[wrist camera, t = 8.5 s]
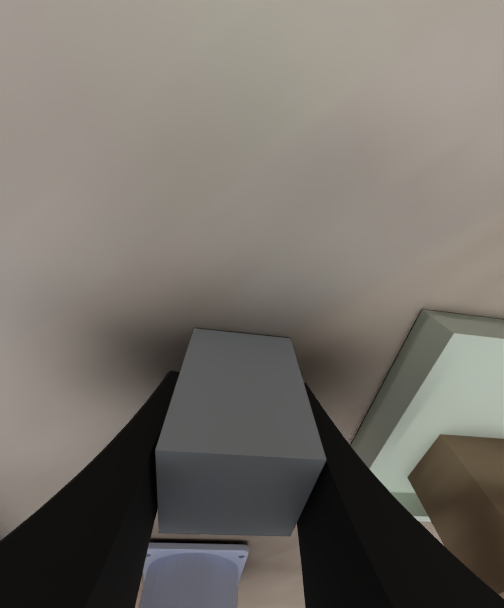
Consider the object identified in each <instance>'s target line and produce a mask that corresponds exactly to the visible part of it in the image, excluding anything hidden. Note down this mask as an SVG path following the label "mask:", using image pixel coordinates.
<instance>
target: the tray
mask: <svg viewBox="0 0 504 608" xmlns="http://www.w3.org/2000/svg"><path fill="white" fill-rule="evenodd" d="M440 434H444V435H458V436H472V437H487V438H501V439H504V319H496V318H488V317H480V316H472V315H464V314H455V313H447V312H439V311H431V310H423V309H422V311H421V313H420V314H419V316H418V318H417V320H416V322H415V324H414V326H413V328H412V330H411V332H410V333H409V335H408V337H407V339H406V341H405V343H404V345H403V347H402V349H401V351H400V352H399V354H398V356H397V358H396V360H395V362H394V364H393V366H392V368H391V370H390V371H389V373H388V375H387V377H386V379H385V381H384V383H383V385H382V387H381V389H380V390H379V392H378V394H377V396H376V398H375V400H374V402H373V404H372V406H371V408H370V410H369V411H368V413H367V415H366V417H365V419H364V421H363V423H362V425H361V427H360V429H359V430H358V432H357V434H356V436H355V438H354V440H353V442H352V444H351V447H352V448H353V450H354V451H355V452H356V453H357V455H358V456H359V457H360V458H361V460H362V461H363V462H364V463H365V464H366V466H367V467H368V468H369V469H370V470H371V471H372V473H373V474H374V475H375V476H376V477H377V478H378V479H379V480H380V482H381V483H382V484H383V485H384V486H385V487H386V488H387V489H388V490H389V492H390V493H391V494H392V495H393V496H394V497H395V498H396V499H397V500H398V501H399V502H400V503H401V504H402V505H403V506H404V507H405V508H406V509H407V510H408V511H409V512H410V513H411V514H412V515H413V516H414V517H415V518H416V519H417V520H418V521H422V522H431V520H430V518H429V516H428V515H427V513H426V511H425V509H424V507H423V505H422V504H421V502H420V500H419V498H418V496H417V494H416V493H415V491H414V489H413V487H412V485H411V483H410V482H409V480H408V478H407V477H408V476H409V474H410V473H411V472H412V470H413V469H414V468H415V466H416V465H417V464H418V463H419V461H420V460H421V459H422V457H423V456H424V455H425V453H426V452H427V451H428V449H429V448H430V447H431V445H432V444H433V443H434V441H435V440H436V439H437V438H438V436H439V435H440Z"/></svg>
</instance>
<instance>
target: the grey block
mask: <svg viewBox="0 0 504 608" xmlns="http://www.w3.org/2000/svg"><path fill="white" fill-rule="evenodd" d="M155 455H156V477H157V500H158V522H159V533H172V534H213V535H253V536H291V534H292V532H293V530H294V527H295V525H296V523H297V521H298V519H299V517H300V515H301V513H302V511H303V508H304V506H305V504H306V502H307V500H308V498H309V496H310V494H311V492H312V489H313V487H314V485H315V483H316V481H317V479H318V477H319V475H320V473H321V470H322V468H323V466H324V464H325V462H326V457H325V453H324V450H323V446H322V443H321V440H320V436H319V433H318V430H317V426H316V423H315V419H314V416H313V413H312V409H311V406H310V402H309V399H308V396H307V392H306V389H305V386H304V382H303V379H302V375H301V372H300V369H299V365H298V362H297V358H296V355H295V352H294V348H293V345H292V342H291V338H282V337H272V336H263V335H253V334H244V333H234V332H225V331H215V330H206V329H196V328H194V330H193V333H192V336H191V339H190V342H189V345H188V349H187V352H186V355H185V358H184V361H183V364H182V368H181V371H180V374H179V377H178V380H177V383H176V386H175V390H174V393H173V396H172V399H171V402H170V405H169V409H168V412H167V415H166V418H165V421H164V424H163V428H162V431H161V434H160V437H159V440H158V443H157V446H156V450H155Z"/></svg>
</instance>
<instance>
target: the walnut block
mask: <svg viewBox="0 0 504 608" xmlns="http://www.w3.org/2000/svg"><path fill="white" fill-rule="evenodd" d="M407 478H408V480H409V482H410V483H411V485H412V487H413V489H414V491H415V493H416V494H417V496H418V498H419V500H420V502H421V504H422V505H423V507H424V509H425V511H426V513H427V515H428V516H429V518H430V520H431V522H432V524H433V526H434V527H435V529H436V531H437V533H438V535H439V537H440V538H441V540H442V542H443V544H444V546H445V547H446V548H447V549H448V550H449V551H450V552H451V553H452V554H453V555H454V556H455V557H457V558H458V559H459V560H460V561H461V562H462V563H463V564H464V565H465V566H466V567H468V568H469V569H470V570H471V571H472V572H473V573H474V574H475V575H476V576H477V577H479V578H480V579H481V580H482V581H483V582H484V583H485V584H487V585H488V586H489V587H490V588H491V589H493V590H494V591H495V592H496V593H497V594H498V595H500V596H501V597H502V598H503V599H504V439H501V438H487V437H472V436H458V435H444V434H440V435H439V436H438V438H437V439H436V440H435V441H434V443H433V444H432V445H431V447H430V448H429V449H428V451H427V452H426V453H425V455H424V456H423V457H422V459H421V460H420V461H419V463H418V464H417V465H416V466H415V468H414V469H413V470H412V472H411V473H410V474H409V476H408V477H407Z"/></svg>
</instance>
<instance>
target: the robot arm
mask: <svg viewBox="0 0 504 608" xmlns="http://www.w3.org/2000/svg"><path fill="white" fill-rule="evenodd" d="M179 374H180V372H176V371H170V372H168V373H167V374H166V376H165V377H164V379H163V380H162V382H161V383H160V385H159V386H158V387H157V389H156V390H155V391H154V392H153V394H152V395H151V396H150V398H149V399H148V400H147V401H146V403H145V404H144V405H143V406H142V407H141V409H140V410H139V411H138V412H137V413H136V414H135V416H134V417H133V418H132V419H131V420H130V421H129V423H128V424H127V425H126V426H125V427H124V428H123V429H122V430H121V431H120V432H119V433H118V435H117V436H116V437H115V438H114V439H113V440H112V441H111V442H110V443H109V444H108V445H107V446H106V447H105V448H104V449H103V450H102V451H101V452H100V453H99V454H98V455H97V456H96V457H95V458H94V459H93V460H92V461H91V462H90V463H89V464H88V465H87V466H86V467H85V468H84V469H83V470H82V471H81V472H80V473H79V474H78V475H77V476H76V477H74V478H73V479H72V480H71V481H70V482H69V483H68V484H67V485H66V486H64V487H63V488H62V489H61V490H60V491H59V492H58V493H57V494H56V495H54V496H53V497H52V498H51V499H50V500H49V501H48V502H47V503H45V504H44V505H43V506H42V507H41V508H40V509H39V510H37V511H36V512H35V513H34V514H33V515H31V516H30V517H29V518H28V519H27V520H25V521H24V522H23V523H22V524H21V525H19V526H18V527H17V528H16V529H14V530H13V531H12V532H11V533H9V534H8V535H7V536H6V537H5V538H3V539H2V540H1V541H0V608H135V604H136V599H137V595H138V590H139V586H140V581H141V577H142V572H143V580H144V586H143V590H142V594H141V598H140V603H139V607H138V608H237V605H238V584H239V581H240V578H241V575H242V572H243V569H244V566H245V563H246V560H247V557H248V554H249V547H248V546H247V545H243V544H198V543H150V537H151V533H152V529H153V524H154V520H155V517H156V513H157V509H158V500H157V477H156V455H155V450H156V446H157V443H158V440H159V437H160V434H161V431H162V428H163V424H164V421H165V418H166V415H167V412H168V409H169V405H170V402H171V399H172V396H173V393H174V390H175V386H176V383H177V380H178V377H179ZM304 386H305V389H306V392H307V396H308V399H309V402H310V406H311V409H312V413H313V416H314V419H315V423H316V426H317V430H318V433H319V436H320V440H321V443H322V446H323V450H324V453H325V457H326V462H325V464H324V466H323V468H322V470H321V473H320V475H319V477H318V479H317V481H316V483H315V485H314V487H313V489H312V492H311V494H310V496H309V498H308V500H307V502H306V504H305V506H304V508H303V511H302V513H301V515H300V517H299V519H298V521H297V528H298V537H299V546H300V555H301V564H302V575H303V585H304V596H305V607H306V608H504V599H503V598H502V597H501V596H500V595H498V594H497V593H496V592H495V591H494V590H493V589H491V588H490V587H489V586H488V585H487V584H485V583H484V582H483V581H482V580H481V579H480V578H479V577H477V576H476V575H475V574H474V573H473V572H472V571H471V570H470V569H469V568H468V567H466V566H465V565H464V564H463V563H462V562H461V561H460V560H459V559H458V558H457V557H455V556H454V555H453V554H452V553H451V552H450V551H449V550H448V549H447V548H446V547H445V546H443V545H442V544H441V543H440V542H439V541H438V540H437V539H436V538H435V537H434V536H433V535H432V534H431V533H430V532H429V531H428V530H427V529H426V528H425V527H424V526H423V525H422V524H421V523H420V522H419V521H418V520H417V519H416V518H415V517H414V516H413V515H412V514H411V513H410V512H409V511H408V510H407V509H406V508H405V507H404V506H403V505H402V504H401V503H400V502H399V501H398V500H397V499H396V498H395V497H394V496H393V495H392V494H391V493H390V492H389V490H388V489H387V488H386V487H385V486H384V485H383V484H382V483H381V482H380V480H379V479H378V478H377V477H376V476H375V475H374V474H373V473H372V471H371V470H370V469H369V468H368V467H367V466H366V464H365V463H364V462H363V461H362V460H361V458H360V457H359V456H358V455H357V453H356V452H355V451H354V450H353V448H352V447H351V446H350V445H349V443H348V442H347V441H346V439H345V438H344V437H343V435H342V434H341V433H340V431H339V430H338V429H337V427H336V426H335V424H334V423H333V422H332V420H331V419H330V418H329V416H328V415H327V413H326V412H325V410H324V409H323V407H322V406H321V405H320V403H319V402H318V400H317V399H316V397H315V396H314V394H313V393H312V391H311V390H310V388H309V387H308V385H307V384H306V383H304Z"/></svg>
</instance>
